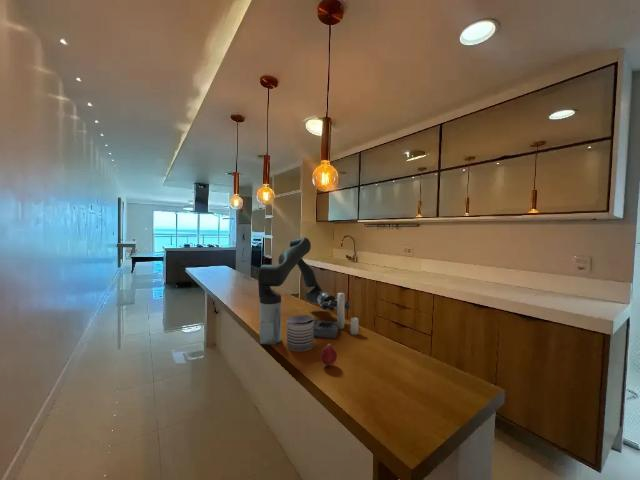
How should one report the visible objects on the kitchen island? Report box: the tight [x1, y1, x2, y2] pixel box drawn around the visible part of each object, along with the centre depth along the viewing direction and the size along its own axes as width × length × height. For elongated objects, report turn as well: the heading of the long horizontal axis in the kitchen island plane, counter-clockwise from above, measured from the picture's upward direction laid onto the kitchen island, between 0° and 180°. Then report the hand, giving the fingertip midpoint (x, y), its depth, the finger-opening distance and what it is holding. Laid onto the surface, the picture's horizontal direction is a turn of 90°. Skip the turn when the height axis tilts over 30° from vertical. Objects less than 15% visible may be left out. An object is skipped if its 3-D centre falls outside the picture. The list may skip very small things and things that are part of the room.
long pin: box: [336, 292, 346, 329], centre depth 138 cm, size 4×4×17 cm
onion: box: [320, 343, 338, 367], centre depth 99 cm, size 6×6×8 cm
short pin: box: [350, 317, 359, 336], centre depth 130 cm, size 4×4×7 cm
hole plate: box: [313, 319, 339, 339], centre depth 132 cm, size 12×12×4 cm
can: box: [286, 314, 314, 352], centre depth 116 cm, size 11×11×12 cm
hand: (340, 308), depth 138 cm, fingers open, 8 cm apart
